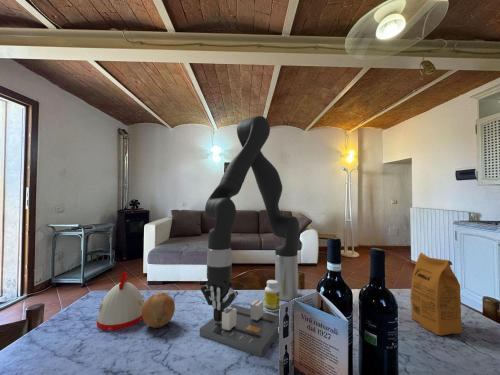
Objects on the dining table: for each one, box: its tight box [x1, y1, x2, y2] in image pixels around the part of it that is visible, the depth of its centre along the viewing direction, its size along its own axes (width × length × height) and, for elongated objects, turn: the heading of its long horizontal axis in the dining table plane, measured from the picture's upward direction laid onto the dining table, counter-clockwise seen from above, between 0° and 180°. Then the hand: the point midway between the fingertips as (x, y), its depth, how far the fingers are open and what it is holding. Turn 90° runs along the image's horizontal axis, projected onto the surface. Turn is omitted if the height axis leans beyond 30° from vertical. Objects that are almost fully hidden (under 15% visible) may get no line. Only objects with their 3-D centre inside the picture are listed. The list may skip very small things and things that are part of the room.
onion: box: [142, 291, 176, 329], centre depth 73 cm, size 10×10×10 cm
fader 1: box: [222, 306, 237, 330], centre depth 68 cm, size 4×2×4 cm, turn 152°
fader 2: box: [250, 299, 264, 320], centre depth 74 cm, size 4×2×4 cm, turn 152°
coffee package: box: [410, 252, 463, 336], centre depth 74 cm, size 10×12×22 cm
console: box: [199, 304, 280, 358], centre depth 71 cm, size 18×20×2 cm
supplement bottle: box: [264, 279, 280, 313], centre depth 85 cm, size 5×5×10 cm
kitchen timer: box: [96, 270, 145, 331], centre depth 77 cm, size 14×14×15 cm
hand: (218, 320), depth 70 cm, fingers closed
